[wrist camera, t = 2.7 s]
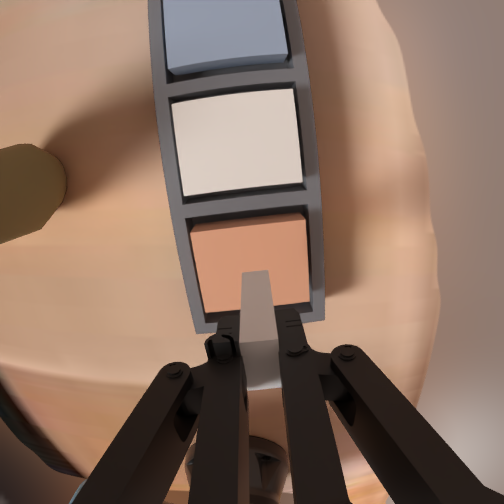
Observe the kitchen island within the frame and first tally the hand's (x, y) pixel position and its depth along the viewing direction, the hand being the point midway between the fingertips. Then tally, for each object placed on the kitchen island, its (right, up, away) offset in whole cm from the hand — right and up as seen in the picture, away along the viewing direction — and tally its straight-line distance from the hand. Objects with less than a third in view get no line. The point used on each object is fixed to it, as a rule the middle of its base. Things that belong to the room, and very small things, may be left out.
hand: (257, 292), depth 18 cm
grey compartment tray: (-1, +11, +6) cm, 13 cm away
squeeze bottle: (-20, +9, +6) cm, 23 cm away
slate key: (-2, +19, 0) cm, 19 cm away
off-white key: (-1, +10, +3) cm, 11 cm away
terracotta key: (0, +2, +7) cm, 7 cm away
